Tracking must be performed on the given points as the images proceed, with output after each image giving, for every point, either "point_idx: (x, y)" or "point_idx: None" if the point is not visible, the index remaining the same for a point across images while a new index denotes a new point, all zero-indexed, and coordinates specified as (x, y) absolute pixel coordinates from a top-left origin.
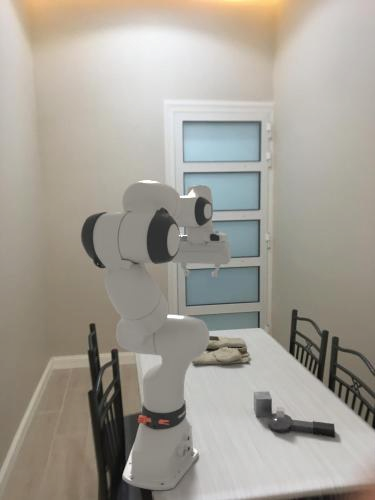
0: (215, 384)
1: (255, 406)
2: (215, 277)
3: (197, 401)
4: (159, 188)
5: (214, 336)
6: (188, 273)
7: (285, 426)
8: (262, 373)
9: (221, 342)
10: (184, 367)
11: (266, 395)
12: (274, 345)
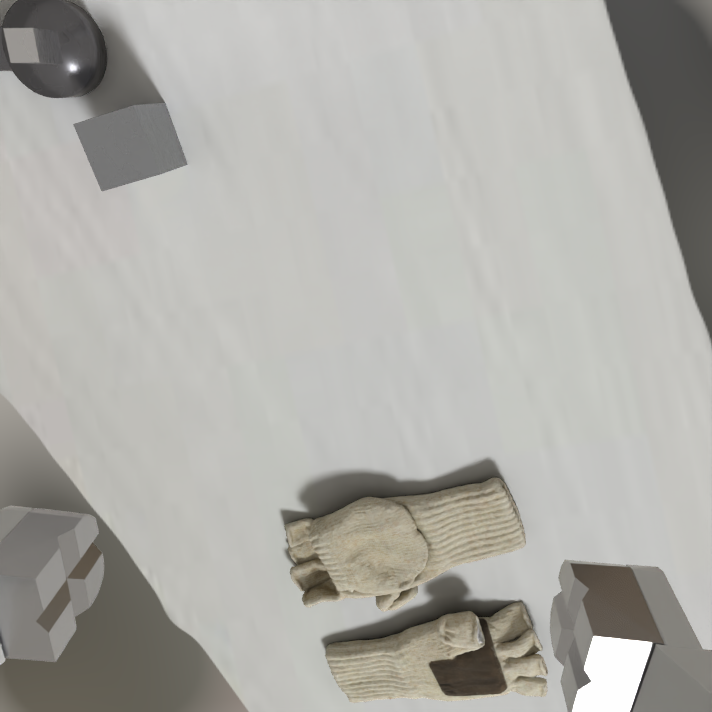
0: (376, 330)
1: (156, 119)
2: (24, 509)
3: (418, 171)
4: None
5: (456, 693)
6: (581, 608)
7: (19, 2)
8: (220, 450)
9: (418, 650)
10: None
11: (102, 152)
12: (227, 669)
